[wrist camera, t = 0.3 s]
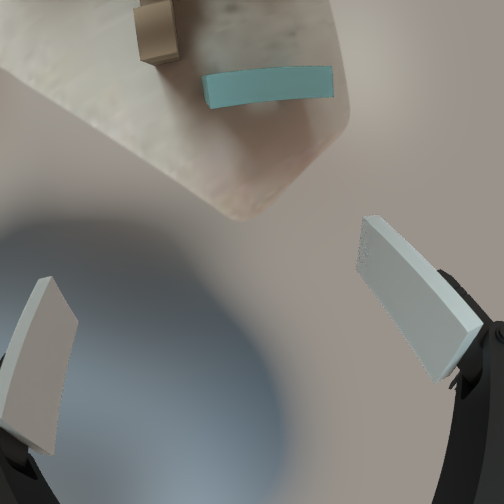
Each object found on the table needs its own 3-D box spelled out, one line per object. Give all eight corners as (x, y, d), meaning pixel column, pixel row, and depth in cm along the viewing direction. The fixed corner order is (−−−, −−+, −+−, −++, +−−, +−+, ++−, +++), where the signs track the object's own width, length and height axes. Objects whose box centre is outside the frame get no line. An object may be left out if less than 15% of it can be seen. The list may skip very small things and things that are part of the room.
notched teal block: (204, 100, 30) (211, 109, 22) (201, 76, 28) (205, 75, 20) (296, 89, 31) (333, 97, 23) (294, 66, 30) (331, 66, 22)
